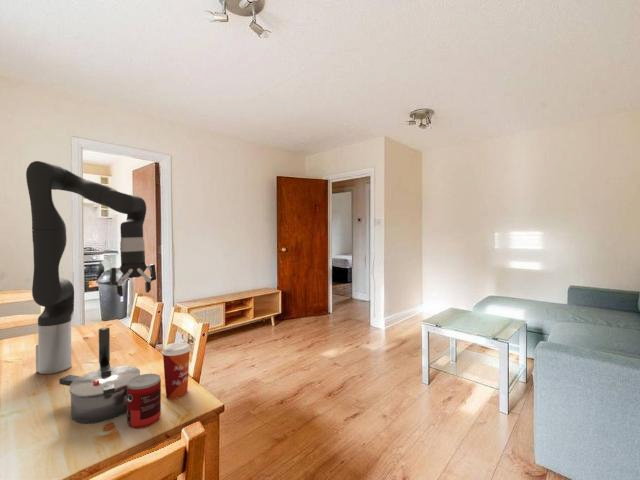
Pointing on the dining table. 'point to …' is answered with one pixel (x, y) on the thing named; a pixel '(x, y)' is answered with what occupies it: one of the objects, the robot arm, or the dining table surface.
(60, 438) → the dining table surface
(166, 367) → the coffee cup
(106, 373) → the lid
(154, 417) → the canned food
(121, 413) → the pot
